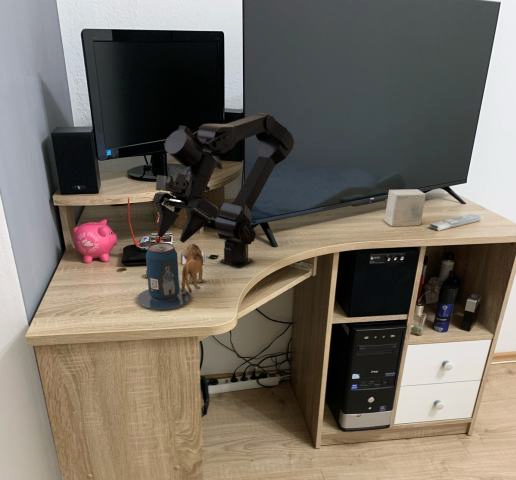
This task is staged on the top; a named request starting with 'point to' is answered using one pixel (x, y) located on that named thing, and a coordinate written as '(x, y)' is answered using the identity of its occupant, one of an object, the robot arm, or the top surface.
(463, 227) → the top surface
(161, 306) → the coaster
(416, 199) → the cosmetics box
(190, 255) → the lion figurine
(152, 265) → the soda can
